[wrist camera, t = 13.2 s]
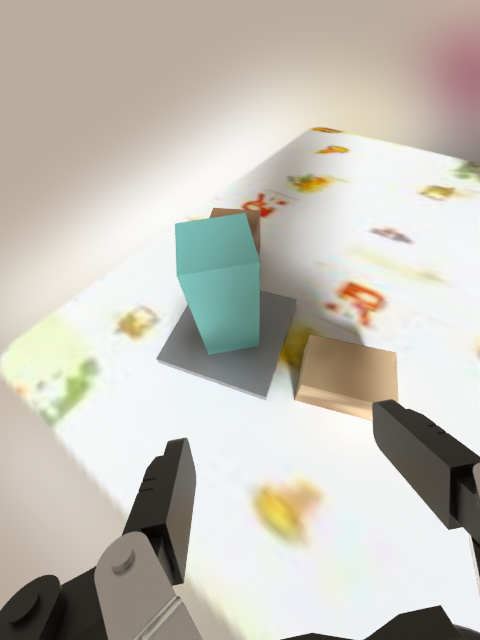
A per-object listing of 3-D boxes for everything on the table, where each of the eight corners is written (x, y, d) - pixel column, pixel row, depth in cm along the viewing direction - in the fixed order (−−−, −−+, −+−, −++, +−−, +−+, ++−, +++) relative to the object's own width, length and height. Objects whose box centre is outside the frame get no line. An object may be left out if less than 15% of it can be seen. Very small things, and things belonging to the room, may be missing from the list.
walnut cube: (219, 245, 30) (213, 207, 26) (260, 248, 30) (260, 210, 26) (209, 275, 28) (200, 239, 24) (253, 279, 27) (252, 243, 23)
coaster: (205, 282, 27) (204, 277, 27) (295, 304, 25) (296, 299, 24) (159, 362, 22) (156, 359, 22) (265, 400, 20) (266, 397, 19)
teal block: (204, 312, 24) (175, 223, 16) (249, 305, 24) (245, 212, 16) (208, 354, 22) (176, 275, 13) (259, 345, 22) (259, 262, 13)
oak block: (294, 400, 20) (301, 384, 17) (301, 356, 22) (309, 334, 19) (373, 421, 19) (398, 409, 15) (373, 372, 21) (396, 352, 17)
